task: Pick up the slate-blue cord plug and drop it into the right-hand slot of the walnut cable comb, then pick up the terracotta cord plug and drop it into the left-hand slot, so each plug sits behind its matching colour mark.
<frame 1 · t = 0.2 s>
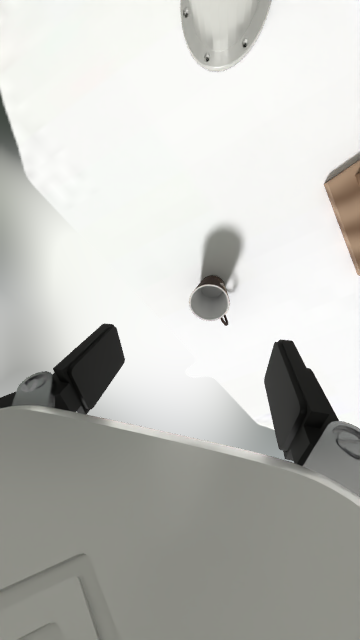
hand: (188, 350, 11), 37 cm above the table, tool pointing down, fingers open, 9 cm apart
coffee mug: (212, 292, 48), on the table
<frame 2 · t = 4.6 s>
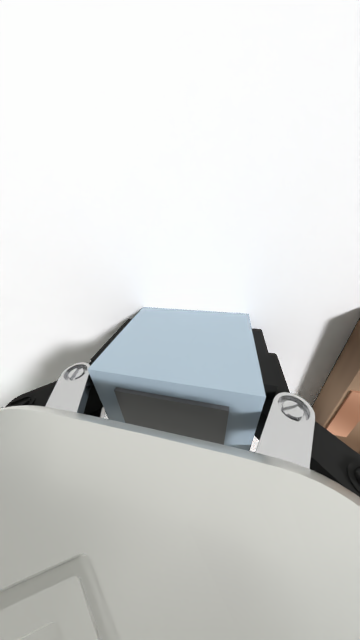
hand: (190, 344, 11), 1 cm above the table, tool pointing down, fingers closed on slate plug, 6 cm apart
slate plug: (192, 337, 12), on the table, touching gripper
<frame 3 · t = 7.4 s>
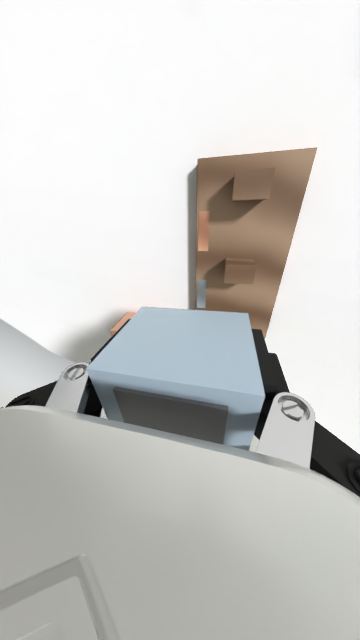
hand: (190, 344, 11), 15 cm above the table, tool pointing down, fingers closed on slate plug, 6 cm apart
cable comb: (237, 263, 22), on the table
terracotta plug: (147, 323, 31), on the table
slate plug: (192, 336, 12), point 14 cm above the table, touching gripper
when the fingers open (3 cm above the table, at t = 10.6 s): slate plug drops 1 cm, resting on cable comb.
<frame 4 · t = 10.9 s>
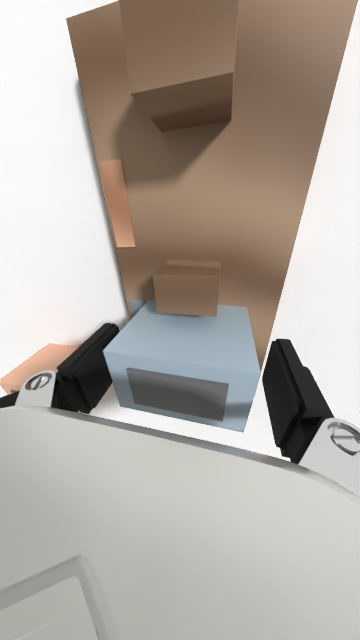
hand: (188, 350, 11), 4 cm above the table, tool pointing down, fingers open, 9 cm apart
cable comb: (198, 270, 12), on the table
terracotta plug: (80, 359, 20), on the table
slate plug: (194, 328, 13), point 1 cm above the table, touching cable comb
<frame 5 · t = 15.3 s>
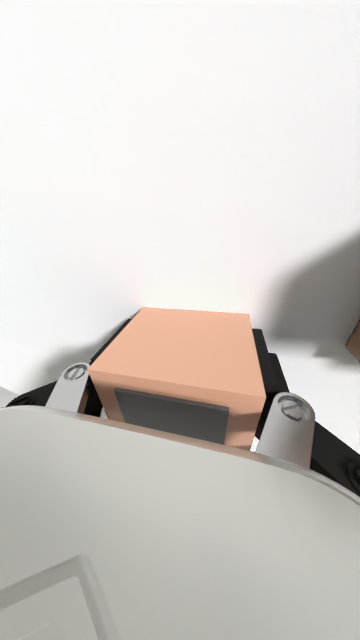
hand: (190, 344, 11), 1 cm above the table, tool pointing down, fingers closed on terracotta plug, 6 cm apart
terracotta plug: (192, 337, 12), on the table, touching gripper
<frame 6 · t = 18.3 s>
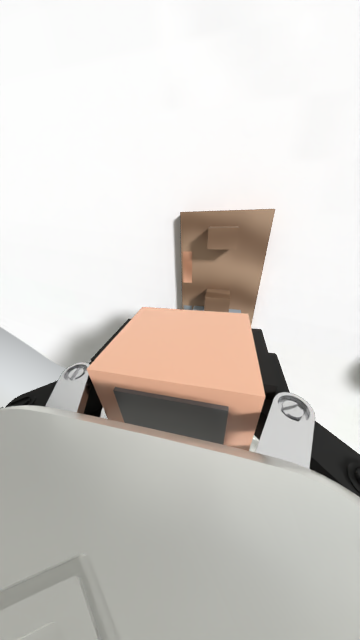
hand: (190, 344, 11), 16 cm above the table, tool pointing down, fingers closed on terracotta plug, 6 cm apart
cable comb: (218, 292, 26), on the table
terracotta plug: (192, 336, 12), point 15 cm above the table, touching gripper
when the fingers open (3 cm above the table, at t = 21.4 s): terracotta plug drops 1 cm, resting on cable comb.
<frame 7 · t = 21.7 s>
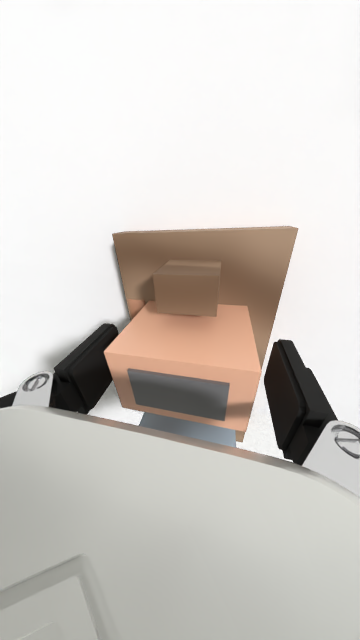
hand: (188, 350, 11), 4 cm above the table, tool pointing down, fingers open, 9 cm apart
cable comb: (197, 354, 16), on the table
terracotta plug: (195, 328, 13), point 1 cm above the table, touching cable comb
slate plug: (194, 395, 17), point 1 cm above the table, touching cable comb
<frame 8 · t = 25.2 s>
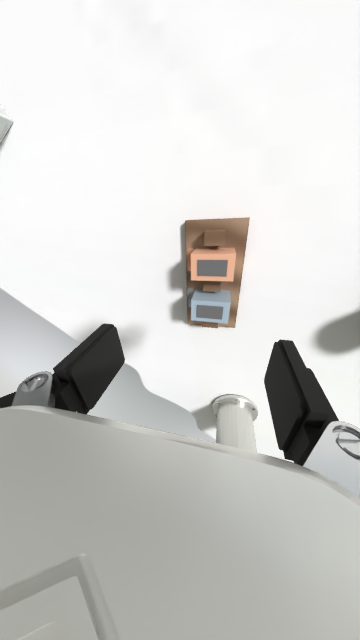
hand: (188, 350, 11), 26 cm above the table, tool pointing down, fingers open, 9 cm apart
cable comb: (213, 278, 35), on the table
terracotta plug: (214, 259, 31), point 1 cm above the table, touching cable comb
slate plug: (212, 299, 35), point 1 cm above the table, touching cable comb
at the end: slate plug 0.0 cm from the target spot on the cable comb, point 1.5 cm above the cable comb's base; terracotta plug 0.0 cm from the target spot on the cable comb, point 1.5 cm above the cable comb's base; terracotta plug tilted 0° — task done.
